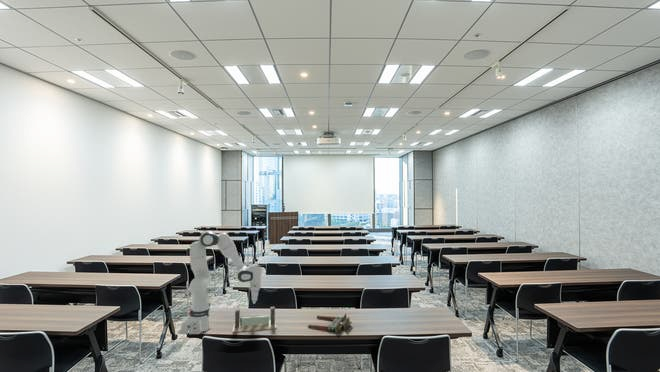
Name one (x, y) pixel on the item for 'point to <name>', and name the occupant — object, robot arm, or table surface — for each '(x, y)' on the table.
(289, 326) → the table surface
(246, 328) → the base
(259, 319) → the gate panel
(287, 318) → the table surface
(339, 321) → the miniature gate
